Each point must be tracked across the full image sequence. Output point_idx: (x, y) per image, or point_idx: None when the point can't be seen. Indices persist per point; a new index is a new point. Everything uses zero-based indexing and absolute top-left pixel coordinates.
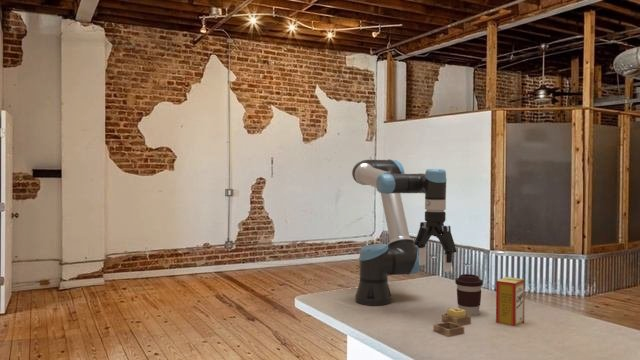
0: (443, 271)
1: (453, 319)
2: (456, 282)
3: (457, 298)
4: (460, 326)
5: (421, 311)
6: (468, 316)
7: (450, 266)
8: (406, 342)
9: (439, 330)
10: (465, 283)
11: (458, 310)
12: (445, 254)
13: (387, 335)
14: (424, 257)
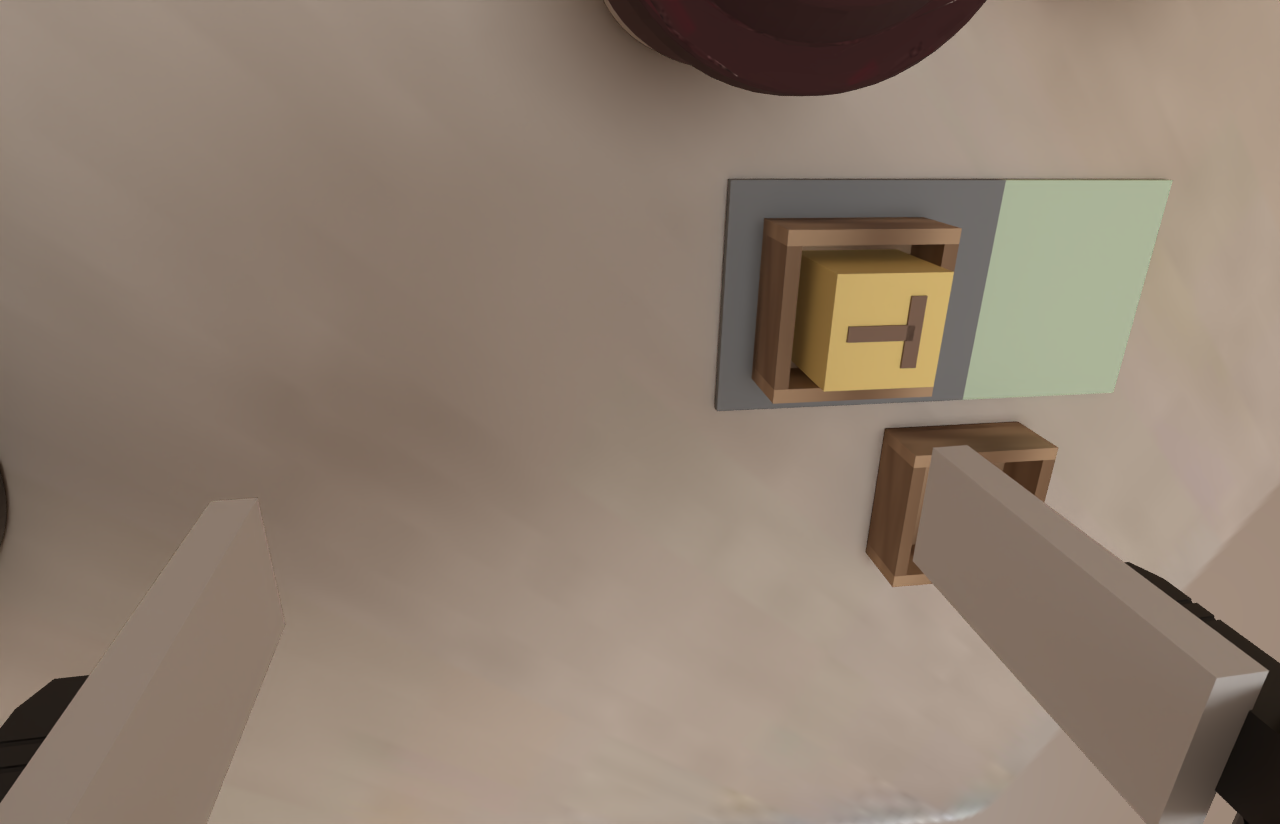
0: (913, 560)
1: (901, 394)
2: (722, 77)
3: (652, 42)
4: (1032, 460)
5: (353, 280)
6: (946, 245)
7: (1020, 488)
8: (879, 743)
9: None
10: (910, 66)
11: (920, 339)
12: (1191, 803)
13: (738, 773)
14: (209, 636)
